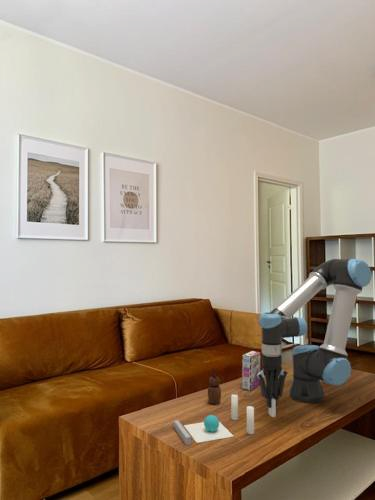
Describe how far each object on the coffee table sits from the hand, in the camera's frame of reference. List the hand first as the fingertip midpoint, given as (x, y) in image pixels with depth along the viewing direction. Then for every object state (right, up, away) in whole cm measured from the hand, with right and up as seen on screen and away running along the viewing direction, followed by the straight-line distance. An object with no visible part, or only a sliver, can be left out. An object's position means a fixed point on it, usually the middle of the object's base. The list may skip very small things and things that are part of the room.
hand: (272, 415), depth 145 cm
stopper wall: (-35, -2, -12) cm, 37 cm away
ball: (-24, +1, -9) cm, 26 cm away
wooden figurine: (-21, -3, +18) cm, 28 cm away
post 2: (-10, -2, -10) cm, 15 cm away
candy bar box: (-2, -3, +38) cm, 38 cm away
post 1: (-14, -2, +2) cm, 15 cm away
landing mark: (-26, -2, -9) cm, 27 cm away
